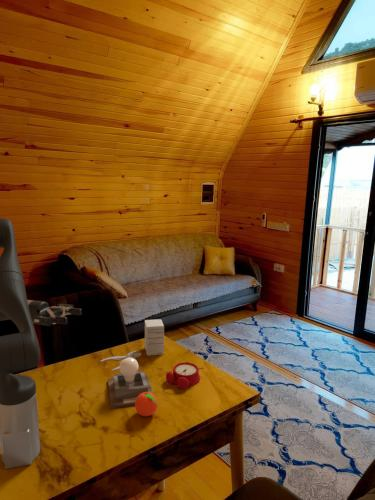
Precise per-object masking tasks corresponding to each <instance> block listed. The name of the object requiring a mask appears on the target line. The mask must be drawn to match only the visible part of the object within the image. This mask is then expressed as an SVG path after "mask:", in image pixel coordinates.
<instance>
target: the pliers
mask: <svg viewBox="0 0 375 500" xmlns="http://www.w3.org/2000/svg"><path fill="white" fill-rule="evenodd" d="M141 356H142V353H141V352H138V350H136V349H135V350H134V351H130V352H128V353H127V354H126V355H122V356H121V355H120V356H119V355H118V356H117V355H116V356H110V357H106V358H104V359H101V360H99V362H100V363H102V362H106V361H109V360H112V361H113V360H114V361H120V363H121V362H122V361H123V360H124V359H125V358H128V357H131V358H134V359H137V358H140V357H141ZM117 370H120V365H118V366H117V367H115V368H113V369H111V372H114V371H117Z"/></svg>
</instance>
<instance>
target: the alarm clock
mask: <svg viewBox="0 0 375 500" xmlns="http://www.w3.org/2000/svg"><path fill="white" fill-rule="evenodd" d="M202 369H204V367H200V368H199V366H197V365H196V364H195V363H192V362H188V361H186V362H180V363H177V364H174V366H173V368H172V372H171V371H167V372H166V374H165V379H166V381H165V383H166V384H167V385H168V386H170V387H175V388H177V387H178V388H179V389H180V390H181V389H182V390H185V389H186V390H187V389H188V388H189V387H191V386H195V385H197V384H198V383H199V382H200V380H201V376H200V374H199V372H200V371H199V370H202ZM173 384H175V385H173Z"/></svg>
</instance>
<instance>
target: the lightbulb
mask: <svg viewBox="0 0 375 500" xmlns="http://www.w3.org/2000/svg"><path fill="white" fill-rule="evenodd" d="M122 360H123V361H122ZM122 360H121V361H122V362H121V361H120V364H119V366H120V369H119V372H120V374H122V375H123V376H124V378H125V381H126V388H128V387H134V378H135V375H136V374H137V372H139V367H140V366H139V365H140V364H139V363H138V361H137V359H136V358H131V357H128V358H124V359H122Z"/></svg>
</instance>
